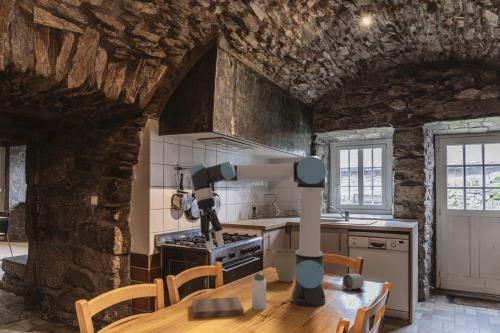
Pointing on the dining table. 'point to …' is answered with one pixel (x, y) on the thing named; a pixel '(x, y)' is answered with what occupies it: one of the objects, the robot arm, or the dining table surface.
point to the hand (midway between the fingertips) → (216, 247)
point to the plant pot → (285, 264)
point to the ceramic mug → (352, 281)
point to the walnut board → (217, 307)
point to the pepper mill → (259, 292)
